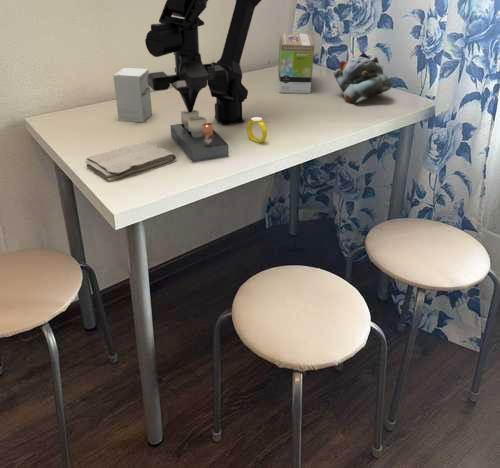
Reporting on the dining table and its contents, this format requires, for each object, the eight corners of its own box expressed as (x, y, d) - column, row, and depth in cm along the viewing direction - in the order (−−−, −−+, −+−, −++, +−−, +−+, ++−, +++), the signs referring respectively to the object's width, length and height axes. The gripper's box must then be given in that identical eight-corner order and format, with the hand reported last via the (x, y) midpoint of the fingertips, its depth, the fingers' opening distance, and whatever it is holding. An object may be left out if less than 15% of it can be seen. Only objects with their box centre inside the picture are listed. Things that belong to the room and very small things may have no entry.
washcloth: (83, 168, 133) (81, 155, 131) (149, 147, 143) (148, 135, 141) (110, 186, 125) (108, 173, 124) (177, 162, 136) (176, 150, 134)
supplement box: (143, 123, 156) (139, 76, 149) (117, 121, 157) (112, 74, 150) (153, 113, 162) (149, 68, 155) (128, 111, 163) (123, 66, 156)
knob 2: (203, 136, 145) (202, 114, 142) (209, 142, 142) (208, 120, 139) (186, 139, 144) (185, 117, 141) (192, 145, 140) (191, 123, 137)
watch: (245, 140, 147) (243, 117, 144) (252, 137, 148) (252, 114, 146) (261, 145, 143) (260, 122, 140) (269, 142, 145) (268, 119, 142)
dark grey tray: (204, 131, 151) (204, 120, 149) (228, 156, 138) (228, 144, 136) (171, 136, 148) (170, 125, 146) (192, 162, 135) (191, 150, 133)
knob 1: (196, 128, 149) (195, 107, 146) (201, 134, 146) (201, 113, 143) (179, 131, 148) (178, 110, 145) (185, 137, 144) (184, 115, 141)
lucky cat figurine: (345, 106, 167) (332, 59, 165) (341, 109, 179) (328, 64, 177) (396, 91, 166) (384, 43, 164) (388, 94, 178) (376, 49, 176)
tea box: (311, 93, 177) (314, 44, 169) (278, 93, 177) (280, 44, 169) (308, 79, 190) (311, 32, 182) (277, 78, 190) (279, 32, 182)
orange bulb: (211, 142, 137) (210, 122, 134) (214, 146, 135) (214, 125, 133) (201, 144, 136) (200, 123, 134) (205, 147, 134) (204, 127, 132)
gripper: (157, 60, 126) (162, 128, 134) (236, 52, 133) (237, 117, 141) (144, 48, 135) (150, 112, 143) (219, 41, 141) (220, 103, 149)
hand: (190, 111), depth 144 cm, fingers closed, pressing on knob 1
